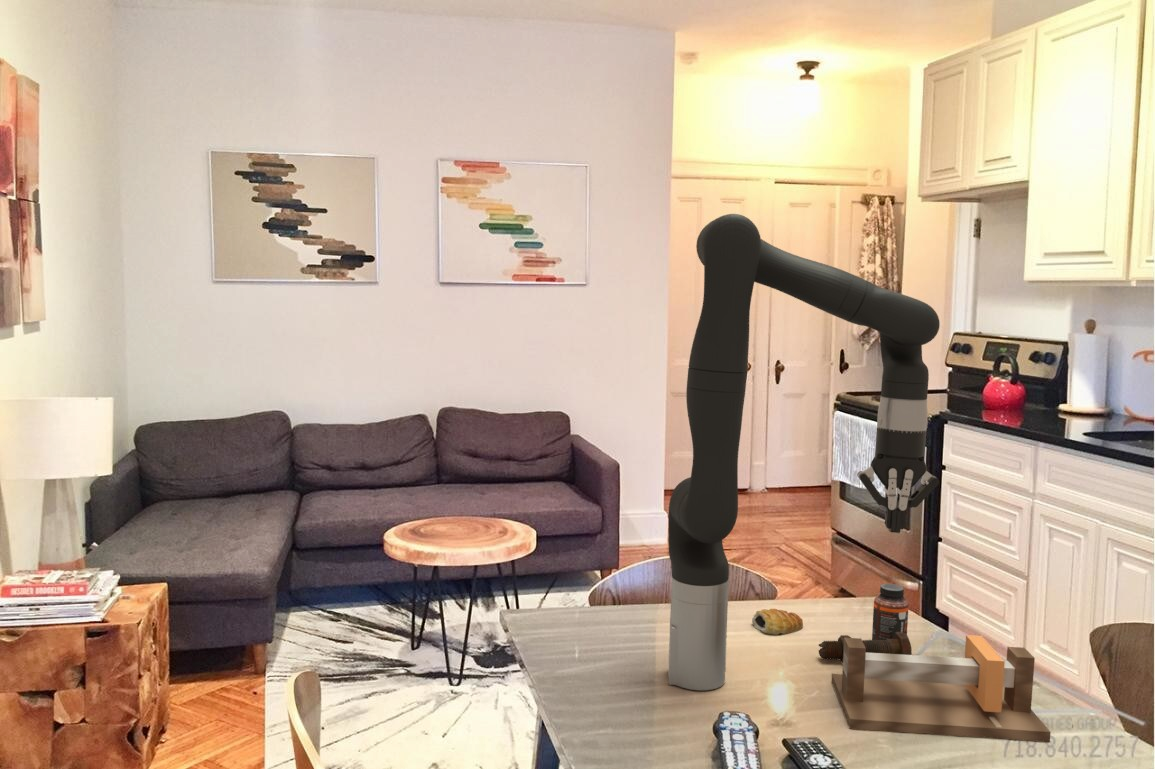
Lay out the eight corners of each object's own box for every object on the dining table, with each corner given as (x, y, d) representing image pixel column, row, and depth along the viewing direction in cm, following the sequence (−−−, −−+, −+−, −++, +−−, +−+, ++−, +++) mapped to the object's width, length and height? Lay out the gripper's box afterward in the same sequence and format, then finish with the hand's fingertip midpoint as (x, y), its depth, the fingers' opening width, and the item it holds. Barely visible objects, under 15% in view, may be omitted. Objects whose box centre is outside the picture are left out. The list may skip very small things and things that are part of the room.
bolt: (818, 669, 159) (904, 668, 159) (825, 666, 155) (914, 664, 155) (814, 635, 162) (899, 634, 162) (821, 630, 157) (908, 629, 157)
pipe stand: (849, 728, 134) (853, 663, 133) (831, 682, 150) (834, 623, 148) (1049, 741, 131) (1054, 674, 130) (1009, 693, 147) (1013, 633, 146)
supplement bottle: (910, 654, 162) (914, 592, 161) (877, 653, 162) (880, 591, 161) (899, 641, 168) (903, 581, 167) (867, 640, 168) (870, 581, 167)
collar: (984, 711, 134) (987, 660, 134) (963, 682, 144) (966, 635, 143) (1001, 712, 134) (1004, 661, 133) (978, 683, 144) (981, 635, 143)
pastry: (790, 620, 178) (791, 601, 178) (810, 632, 172) (811, 613, 172) (748, 625, 175) (749, 606, 175) (767, 638, 169) (768, 618, 169)
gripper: (938, 424, 149) (930, 528, 151) (855, 420, 151) (848, 523, 152) (951, 431, 142) (942, 540, 143) (863, 426, 143) (855, 534, 145)
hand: (893, 531), depth 148 cm, fingers closed
